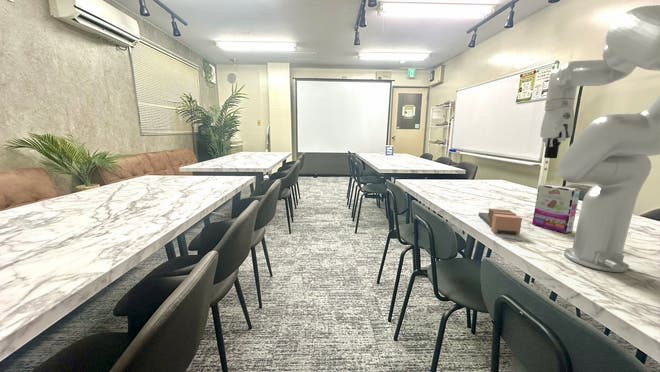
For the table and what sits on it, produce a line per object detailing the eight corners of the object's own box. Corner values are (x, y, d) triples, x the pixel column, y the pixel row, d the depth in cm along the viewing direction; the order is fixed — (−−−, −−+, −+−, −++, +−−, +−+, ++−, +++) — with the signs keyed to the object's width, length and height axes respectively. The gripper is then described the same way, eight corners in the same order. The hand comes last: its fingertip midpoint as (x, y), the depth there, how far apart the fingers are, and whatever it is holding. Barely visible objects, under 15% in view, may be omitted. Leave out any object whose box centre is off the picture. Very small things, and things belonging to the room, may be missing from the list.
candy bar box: (572, 232, 95) (581, 188, 92) (565, 234, 93) (574, 190, 90) (538, 222, 105) (545, 183, 102) (531, 224, 103) (538, 184, 100)
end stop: (519, 235, 90) (522, 218, 89) (493, 233, 92) (496, 216, 91) (515, 232, 93) (518, 215, 92) (490, 230, 95) (493, 213, 94)
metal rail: (515, 235, 91) (516, 231, 90) (496, 233, 92) (497, 229, 92) (493, 216, 112) (494, 213, 111) (478, 215, 113) (478, 212, 113)
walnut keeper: (514, 227, 93) (516, 214, 92) (492, 225, 95) (494, 212, 94) (507, 222, 99) (509, 210, 98) (487, 220, 101) (489, 208, 100)
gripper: (588, 102, 82) (577, 159, 85) (557, 108, 96) (549, 157, 100) (561, 102, 83) (551, 159, 86) (534, 108, 98) (527, 156, 101)
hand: (550, 157), depth 93 cm, fingers closed
